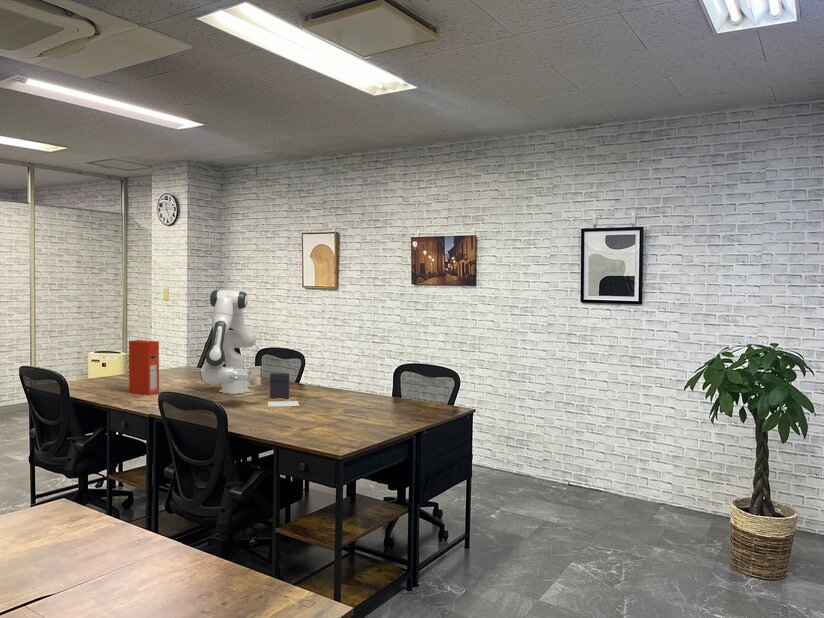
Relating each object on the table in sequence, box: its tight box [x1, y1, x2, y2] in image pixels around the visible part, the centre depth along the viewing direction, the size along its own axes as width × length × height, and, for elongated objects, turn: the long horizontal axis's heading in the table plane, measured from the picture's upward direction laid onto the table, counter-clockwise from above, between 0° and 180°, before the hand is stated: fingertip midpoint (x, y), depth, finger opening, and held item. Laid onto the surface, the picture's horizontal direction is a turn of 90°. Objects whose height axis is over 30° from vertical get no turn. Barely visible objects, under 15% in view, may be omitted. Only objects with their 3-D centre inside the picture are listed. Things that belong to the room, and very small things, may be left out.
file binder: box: [128, 339, 160, 396], centre depth 391 cm, size 8×17×32 cm, turn 62°
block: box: [249, 365, 263, 386], centre depth 362 cm, size 5×6×10 cm
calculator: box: [269, 372, 290, 400], centre depth 382 cm, size 11×4×15 cm, turn 84°
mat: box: [267, 400, 300, 408], centre depth 364 cm, size 14×17×1 cm
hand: (255, 374), depth 362 cm, fingers closed on block, 5 cm apart
